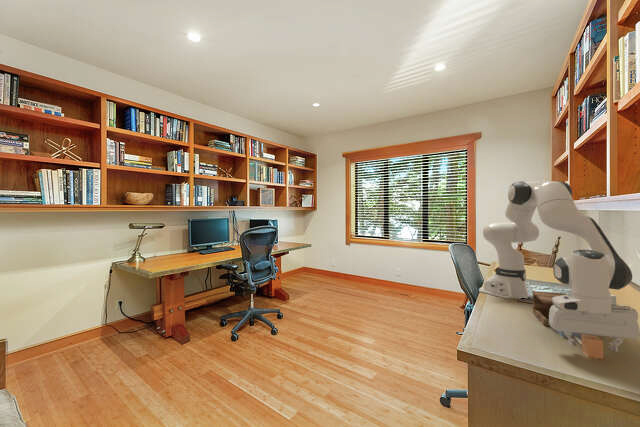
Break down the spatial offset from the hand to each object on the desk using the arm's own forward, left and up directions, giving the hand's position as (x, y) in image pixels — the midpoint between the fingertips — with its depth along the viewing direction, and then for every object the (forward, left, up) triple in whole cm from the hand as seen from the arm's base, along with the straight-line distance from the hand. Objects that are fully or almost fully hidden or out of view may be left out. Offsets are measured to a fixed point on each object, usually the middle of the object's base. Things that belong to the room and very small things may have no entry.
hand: (592, 347), depth 82 cm
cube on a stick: (-4, +7, -2) cm, 9 cm away
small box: (-3, +40, -3) cm, 40 cm away
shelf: (-13, +23, -2) cm, 27 cm away
